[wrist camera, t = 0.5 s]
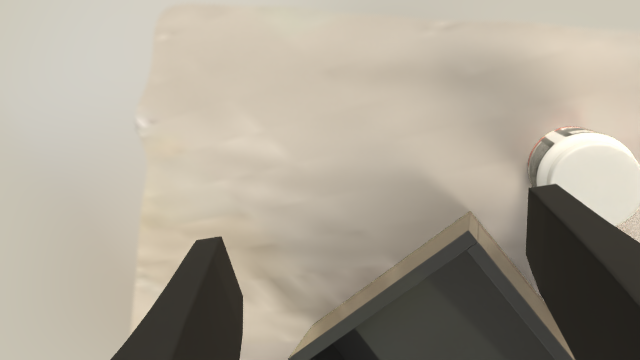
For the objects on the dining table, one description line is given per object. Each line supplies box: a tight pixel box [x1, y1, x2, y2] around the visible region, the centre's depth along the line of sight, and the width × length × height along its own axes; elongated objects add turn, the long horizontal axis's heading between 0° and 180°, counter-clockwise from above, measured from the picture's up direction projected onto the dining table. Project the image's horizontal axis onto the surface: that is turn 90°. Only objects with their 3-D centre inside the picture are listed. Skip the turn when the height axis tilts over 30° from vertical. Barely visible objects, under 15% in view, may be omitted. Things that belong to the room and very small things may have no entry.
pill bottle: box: [528, 127, 640, 226], centre depth 30 cm, size 5×5×8 cm
